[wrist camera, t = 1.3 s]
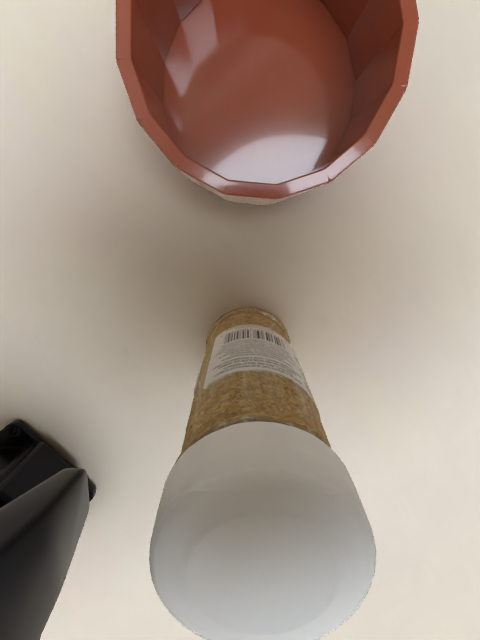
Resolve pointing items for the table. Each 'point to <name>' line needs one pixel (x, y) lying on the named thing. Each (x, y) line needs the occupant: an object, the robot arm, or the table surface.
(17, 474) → the robot arm
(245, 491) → the sprinkles bottle
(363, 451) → the table surface
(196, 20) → the cup
